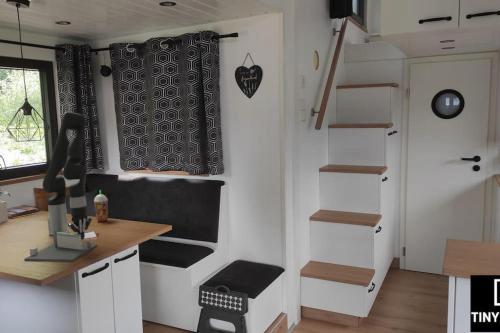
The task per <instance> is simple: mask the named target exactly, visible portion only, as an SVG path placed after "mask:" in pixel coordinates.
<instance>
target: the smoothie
mask: <svg viewBox="0 0 500 333" xmlns="http://www.w3.org/2000/svg"><path fill="white" fill-rule="evenodd" d="M108 202H109V200H108V197H107V196H106V195H104V194H102V190H101V189H100V190H99V194H97V195H96V196H95V197H94V200H93V203H94V204H93V205H94V210H95V211H94V212H95V218H96V221H97V223H105V222H108V219H109V209H108V208H109V206H108V205H109V204H108Z"/></svg>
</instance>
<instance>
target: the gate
mask: <svg viewBox="0 0 500 333" xmlns="http://www.w3.org/2000/svg"><path fill="white" fill-rule="evenodd" d="M56 235H57V245H58V247H63V248H71V249H78V250H80V249H82V244H83V243H82V240H81V234H78V233H75V232H73V233H71V232H68V233H65V232H57V233H56Z"/></svg>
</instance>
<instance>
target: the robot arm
mask: <svg viewBox="0 0 500 333" xmlns="http://www.w3.org/2000/svg"><path fill="white" fill-rule="evenodd" d="M59 126H60V127H59V132H58V135H57V139H56V142H55V145H54V148H53V152H52V155H51V158H50V162H49V166H48V168H47V170H46V173H45V175H44V178H43V180H42V189H43V191H44V192H45V193H46V194H52V193H54V195H53V196H52V197H50V198H49V199H47V208H48V209H47V210H48V217H47V226H48V235H51V236H54V233H53V231H54V230H57V232H65V233H69V229H68V228H70V229H71V230H72V232H73V233H76V234H81V241H83V240H85V236H86V235H85V231H87V230H88V229H89V227H90V224H91V223H92V220H93V219H92V218H90V217H89V216H88V206H87V199H86V190H85V182H86V177H87V173H88V172H87V167H86V166H85V165H84V164H81V163H83V160H84V159H83V144H84V139H85V131H86V130H85V129H86V117H85V115H84V114H83V113H82V114H81V113H78V112H77V113H76V112H73V111H72V112H71V111H65V112H64V113H63V115H62V117H61V122H60V125H59ZM68 130H69V131H75V132H77V134H76V135H75V137H74V138H73V139H72V140H71V141H70V140H69V137H68V135H67V131H68ZM62 170H63V172H62V174H63V175H61V174H60V172H61V171H62ZM58 174H59V175H58ZM65 179H66V180H67V181H73V180H79V181H78V182H76V183H73V184H70V185H69V186H68V194H69V207H70V215H71V219H70V223H68V216H67V214H68V213H67V206H66V204H67V203H66V200H67V184H66V180H65Z"/></svg>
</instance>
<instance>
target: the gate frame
mask: <svg viewBox="0 0 500 333" xmlns="http://www.w3.org/2000/svg"><path fill="white" fill-rule="evenodd" d="M53 233H54V235H53V240H54V241H53V242H54V243H52V244H50V245H48V246H46V247H44V248H42V249H41V250H39V251H38V247H37V246H36V247H31V248H29V256H27V257H25V258H24V259H23V260H24V261H25V262H70V263H73V262H74V261H76V260H78V259H79V258H81V257H82V256H84V255H85V254H87V253H89V252H90V251H92V250H93V249H95V248H97V247H98V244H97V243H92V242H91V240H87V241H86V243H85V244H84V243H82V249H80V250H78V249H71V248H63V247H58V245H57V235H56V233H57V230H54V231H53Z"/></svg>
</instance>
